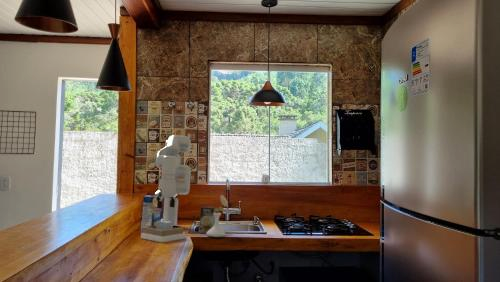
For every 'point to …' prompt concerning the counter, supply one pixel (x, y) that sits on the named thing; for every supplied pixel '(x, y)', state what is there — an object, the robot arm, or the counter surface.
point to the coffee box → (206, 219)
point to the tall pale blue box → (164, 225)
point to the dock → (162, 234)
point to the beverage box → (150, 211)
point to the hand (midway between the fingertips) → (165, 207)
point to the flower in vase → (216, 230)
